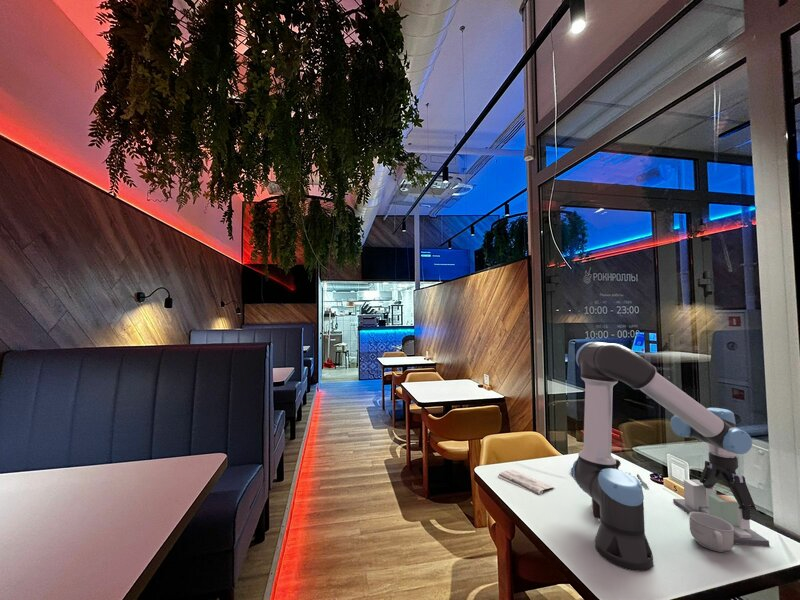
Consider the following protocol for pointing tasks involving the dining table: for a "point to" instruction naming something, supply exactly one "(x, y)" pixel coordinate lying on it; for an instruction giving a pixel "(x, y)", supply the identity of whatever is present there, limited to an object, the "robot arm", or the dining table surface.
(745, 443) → the robot arm
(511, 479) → the newspaper
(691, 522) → the teacup
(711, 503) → the block
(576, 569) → the dining table surface
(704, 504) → the stepped base plate
